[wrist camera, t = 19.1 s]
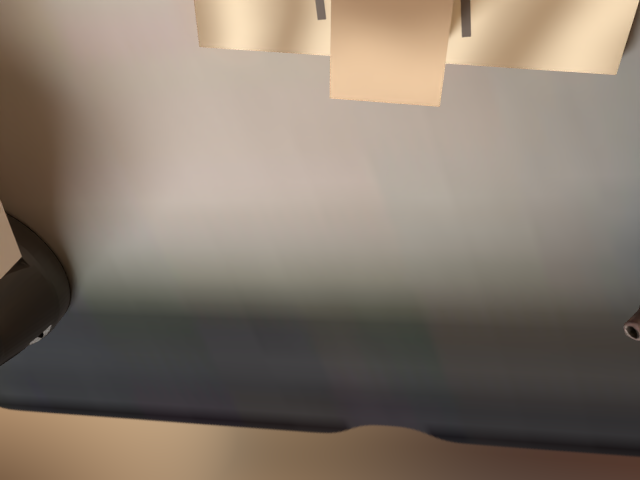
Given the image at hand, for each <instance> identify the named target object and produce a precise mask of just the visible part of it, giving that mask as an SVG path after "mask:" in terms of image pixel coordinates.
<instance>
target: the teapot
mask: <svg viewBox="0 0 640 480" xmlns="http://www.w3.org/2000/svg"><path fill="white" fill-rule="evenodd" d="M624 332H625V334H626V335H627V336H628V337H630V338H632V339H634V340H640V307H639V310H638V311H637V312H636V313H635V314H634V315H633V316H632V317H631V318H630V319H629V320H628V321H627V322H626V323H625V324H624Z"/></svg>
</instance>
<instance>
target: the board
mask: <svg viewBox="0 0 640 480" xmlns="http://www.w3.org/2000/svg"><path fill="white" fill-rule="evenodd" d="M638 3H639V0H454V2H453V10H452V17H451V25H450V32H449V40H448V47H447V55H446V62H445V63H447V64H462V65H477V66H492V67H507V68H522V69H537V70H552V71H566V72H581V73H596V74H611V75H616V73H617V70H618V67H619V64H620V61H621V58H622V54H623V51H624V48H625V45H626V42H627V38H628V35H629V32H630V29H631V26H632V22H633V19H634V16H635V13H636V10H637V6H638ZM194 5H195V13H196V22H197V30H198V39H199V47H208V48H223V49H238V50H253V51H268V52H283V53H298V54H313V55H328V56H330V40H331V0H194Z"/></svg>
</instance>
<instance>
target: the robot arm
mask: <svg viewBox="0 0 640 480" xmlns="http://www.w3.org/2000/svg"><path fill="white" fill-rule="evenodd" d="M69 302H70V288H69V283H68V280H67V277H66V274H65V272H64V270H63V268H62V266H61V264H60V262H59V261H58V259H57V258H56V256H55V255H54V254H53V252H52V251H51V250H50V249H49V247H48V246H47V245H46V244H45V243H44V242H43V241H42V240H41V239H40V238H39V237H38V236H37V235H36V234H35V233H33V232H32V231H31V230H30V229H29V228H27V227H26V226H25V225H23V224H22V223H20V222H19V221H18V220H16V219H14V218H13V217H11V216H9V215H8V214H6V213H5V211H4V208H3V206H2V203H1V200H0V366H1V365H2V364H4V363H5V362H7V361H8V360H10V359H11V358H13V357H14V356H16V355H17V354H18V353H20V352H21V351H22V350H24V349H25V348H26V347H27V346H28V345H31V344H33V343H36V342H38V341H39V340H41V339H42V338H44V337H45V336H47V335H48V334H49V333H50V332H51V331H52V330H53V329H54V327H55V326H56V325H57V323H58V322H59V321H60V319H61V318H62V317H63V315H64V314H65V313H66V311H67V309H68V306H69Z"/></svg>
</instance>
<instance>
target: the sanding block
mask: <svg viewBox="0 0 640 480" xmlns="http://www.w3.org/2000/svg"><path fill="white" fill-rule="evenodd" d="M453 2H454V0H331V40H330V98H334V99H347V100H360V101H373V102H386V103H399V104H412V105H426V106H439V107H440V100H441V93H442V85H443V78H444V70H445V62H446V55H447V47H448V40H449V32H450V25H451V17H452V10H453Z"/></svg>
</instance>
